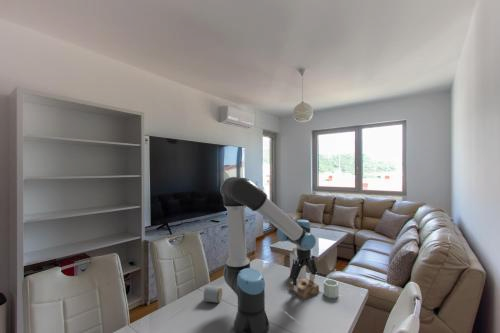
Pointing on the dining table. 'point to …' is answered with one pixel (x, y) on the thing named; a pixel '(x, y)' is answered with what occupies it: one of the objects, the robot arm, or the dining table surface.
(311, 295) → the mat
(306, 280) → the lid
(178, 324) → the dining table surface
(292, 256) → the milk carton
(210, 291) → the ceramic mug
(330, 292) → the octagonal pipe section
